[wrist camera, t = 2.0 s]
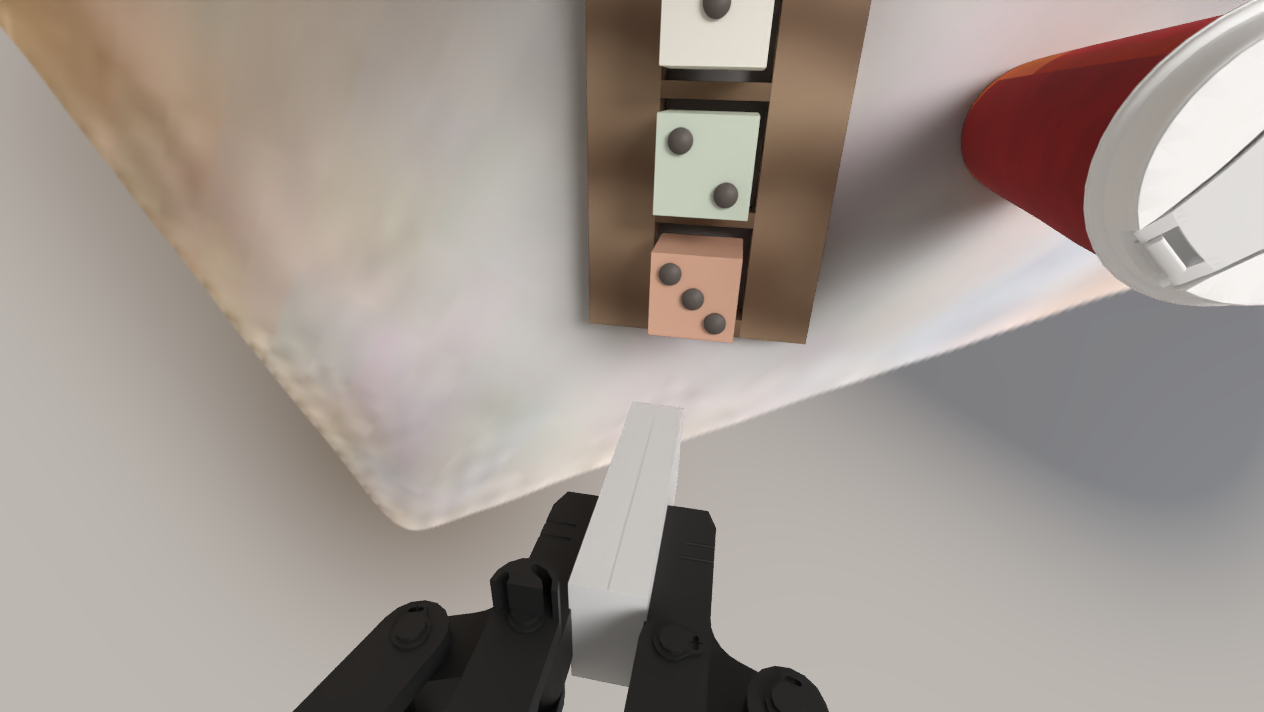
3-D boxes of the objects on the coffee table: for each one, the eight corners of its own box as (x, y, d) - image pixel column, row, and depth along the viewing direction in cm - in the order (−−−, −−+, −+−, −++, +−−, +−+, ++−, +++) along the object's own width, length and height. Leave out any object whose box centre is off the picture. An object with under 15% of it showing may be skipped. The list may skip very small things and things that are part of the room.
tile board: (595, -73, 26) (584, -85, 24) (878, -79, 24) (889, -92, 22) (597, 311, 35) (589, 322, 33) (802, 330, 33) (805, 344, 31)
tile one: (676, -43, 24) (664, -68, 20) (777, -45, 23) (783, -70, 19) (670, 68, 26) (658, 65, 22) (763, 70, 25) (766, 67, 21)
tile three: (662, 232, 29) (650, 253, 26) (743, 238, 29) (742, 260, 25) (658, 306, 31) (647, 335, 28) (733, 313, 31) (732, 344, 27)
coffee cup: (995, 245, 29) (1211, 378, 15) (900, 131, 27) (1048, 170, 14) (1169, 122, 25) (1649, 158, 12) (1070, -19, 23) (1491, -158, 10)
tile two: (668, 109, 26) (656, 112, 23) (758, 112, 26) (760, 116, 22) (664, 199, 28) (652, 215, 25) (747, 204, 28) (747, 222, 24)
